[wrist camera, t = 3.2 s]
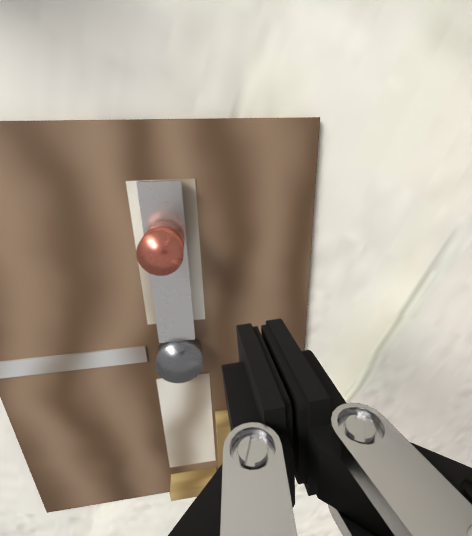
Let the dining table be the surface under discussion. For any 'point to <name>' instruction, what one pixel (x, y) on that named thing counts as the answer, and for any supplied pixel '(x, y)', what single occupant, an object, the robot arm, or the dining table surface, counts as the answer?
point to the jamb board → (140, 291)
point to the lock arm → (169, 278)
